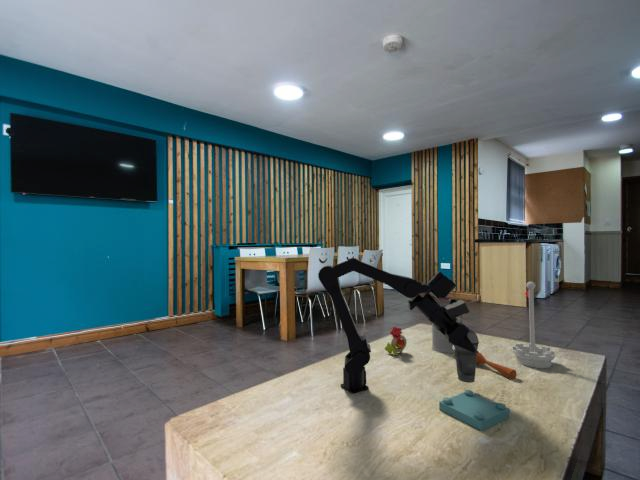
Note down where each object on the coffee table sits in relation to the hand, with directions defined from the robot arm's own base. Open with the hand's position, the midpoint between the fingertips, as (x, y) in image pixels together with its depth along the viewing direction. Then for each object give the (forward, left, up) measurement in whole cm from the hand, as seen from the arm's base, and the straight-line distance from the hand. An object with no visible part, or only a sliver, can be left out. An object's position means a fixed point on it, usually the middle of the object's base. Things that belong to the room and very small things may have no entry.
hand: (470, 347), depth 98 cm
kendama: (+21, +8, -14) cm, 26 cm away
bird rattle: (+6, +38, -13) cm, 41 cm away
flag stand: (+41, +3, -13) cm, 43 cm away
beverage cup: (-1, +1, -10) cm, 10 cm away
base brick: (-11, -8, -13) cm, 19 cm away
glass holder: (+27, +29, -13) cm, 42 cm away
